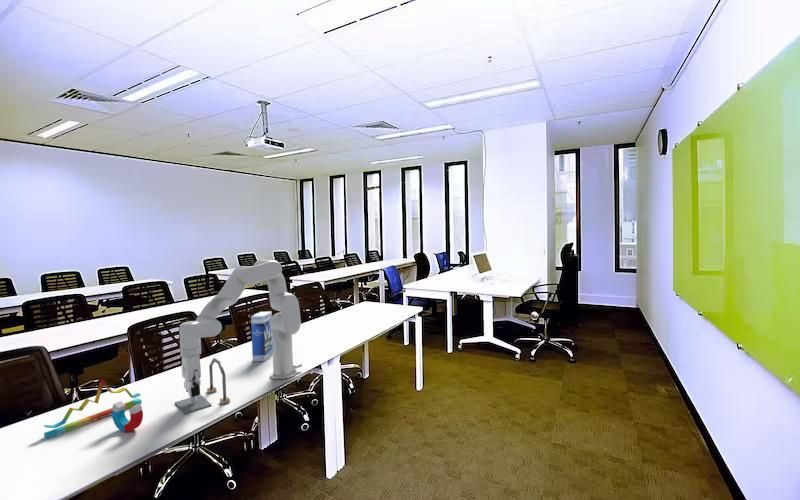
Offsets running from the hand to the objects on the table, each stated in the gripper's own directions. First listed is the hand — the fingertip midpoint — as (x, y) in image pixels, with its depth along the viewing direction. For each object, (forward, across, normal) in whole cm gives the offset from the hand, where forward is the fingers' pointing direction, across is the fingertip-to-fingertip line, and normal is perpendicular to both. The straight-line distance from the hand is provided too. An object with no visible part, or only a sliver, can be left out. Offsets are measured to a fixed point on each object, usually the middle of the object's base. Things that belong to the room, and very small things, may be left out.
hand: (193, 392), depth 154 cm
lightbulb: (+4, 0, 0) cm, 4 cm away
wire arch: (+5, 0, +10) cm, 11 cm away
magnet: (+5, +5, -23) cm, 24 cm away
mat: (+5, 0, 0) cm, 5 cm away
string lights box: (+5, -36, +47) cm, 59 cm away
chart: (+5, -15, -30) cm, 34 cm away
